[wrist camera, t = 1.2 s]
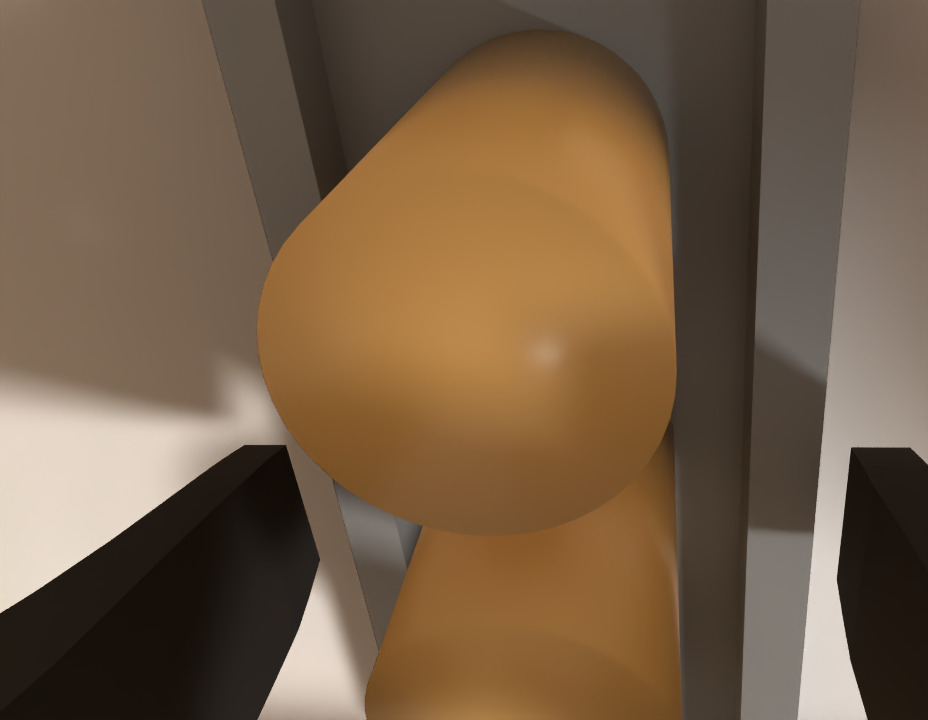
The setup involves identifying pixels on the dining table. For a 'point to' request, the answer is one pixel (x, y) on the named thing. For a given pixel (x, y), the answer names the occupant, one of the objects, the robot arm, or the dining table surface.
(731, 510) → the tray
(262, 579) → the robot arm
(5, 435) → the dining table surface
